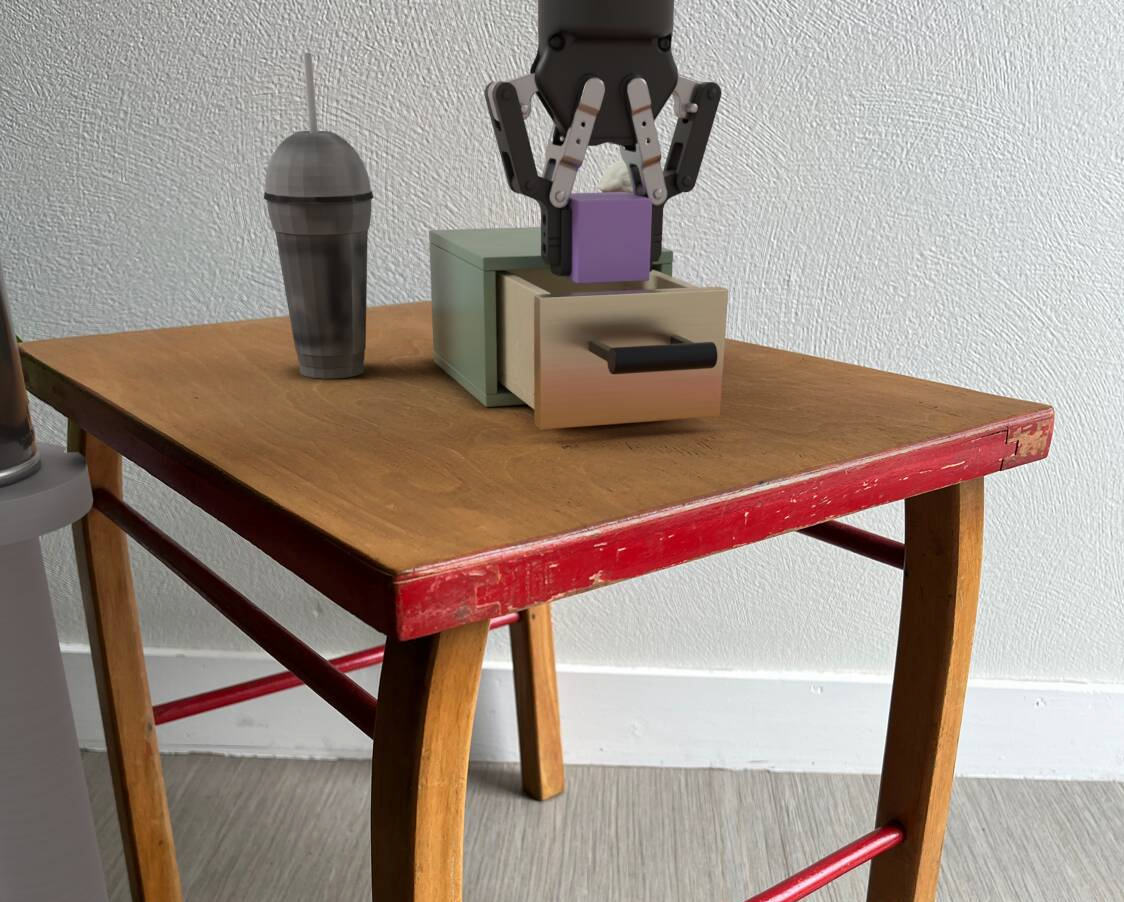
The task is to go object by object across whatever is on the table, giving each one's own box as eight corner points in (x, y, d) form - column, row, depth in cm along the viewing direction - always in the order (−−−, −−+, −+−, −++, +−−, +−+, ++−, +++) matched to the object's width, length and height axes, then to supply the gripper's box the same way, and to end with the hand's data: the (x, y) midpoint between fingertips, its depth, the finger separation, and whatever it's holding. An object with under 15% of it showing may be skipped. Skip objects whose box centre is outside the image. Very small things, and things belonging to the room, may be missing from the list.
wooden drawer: (756, 436, 73) (766, 303, 70) (566, 451, 70) (568, 312, 67) (639, 370, 89) (643, 258, 85) (479, 380, 86) (476, 264, 82)
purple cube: (577, 284, 75) (578, 200, 73) (554, 273, 79) (554, 193, 77) (649, 281, 76) (652, 198, 74) (623, 270, 80) (625, 191, 78)
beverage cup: (281, 384, 88) (249, 52, 78) (279, 363, 94) (249, 52, 85) (388, 380, 89) (369, 53, 80) (379, 359, 96) (361, 53, 86)
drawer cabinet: (667, 394, 86) (673, 250, 82) (485, 407, 83) (482, 257, 78) (594, 352, 98) (596, 225, 94) (433, 362, 95) (428, 230, 91)
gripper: (701, -53, 74) (685, 260, 83) (461, -62, 70) (469, 269, 79) (758, -63, 68) (735, 277, 76) (498, -73, 64) (503, 287, 72)
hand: (600, 271), depth 77 cm, fingers closed on purple cube, 4 cm apart
